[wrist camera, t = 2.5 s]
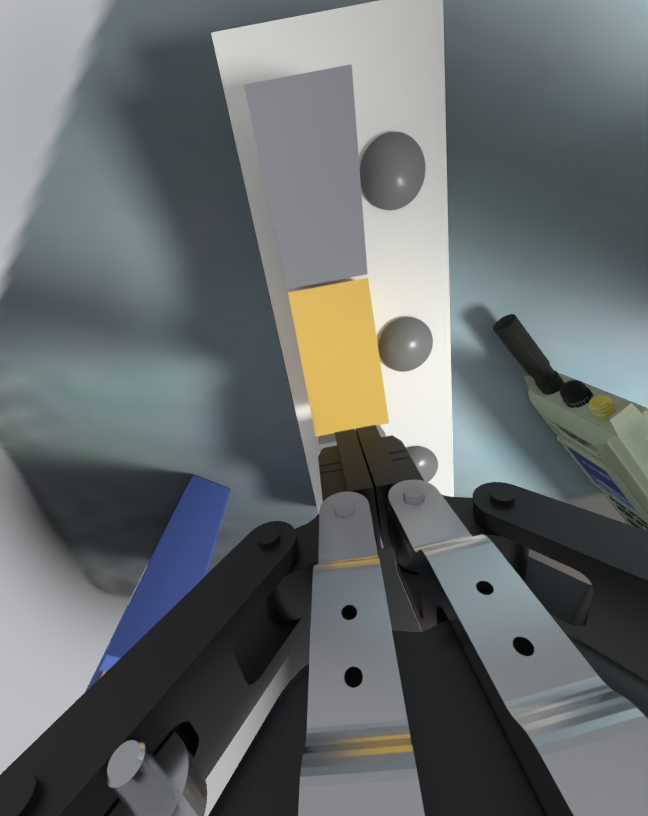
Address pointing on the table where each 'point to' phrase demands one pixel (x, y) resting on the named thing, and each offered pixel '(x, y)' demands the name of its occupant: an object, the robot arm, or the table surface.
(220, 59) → the power strip
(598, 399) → the handheld radio
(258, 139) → the grey flat block
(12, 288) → the table surface
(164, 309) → the table surface
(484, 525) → the robot arm
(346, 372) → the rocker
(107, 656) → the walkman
